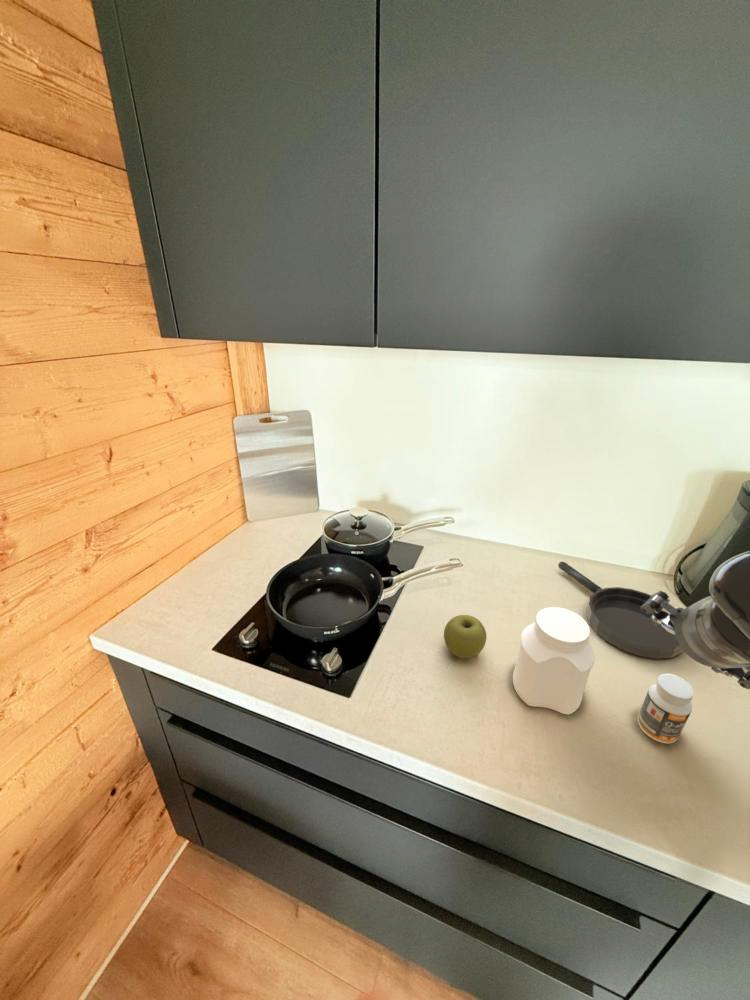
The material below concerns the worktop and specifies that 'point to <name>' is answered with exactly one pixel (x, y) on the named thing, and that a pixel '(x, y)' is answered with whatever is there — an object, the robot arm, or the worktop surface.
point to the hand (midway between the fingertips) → (687, 641)
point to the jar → (554, 661)
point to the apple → (465, 636)
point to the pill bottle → (666, 708)
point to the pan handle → (579, 577)
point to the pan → (629, 623)
